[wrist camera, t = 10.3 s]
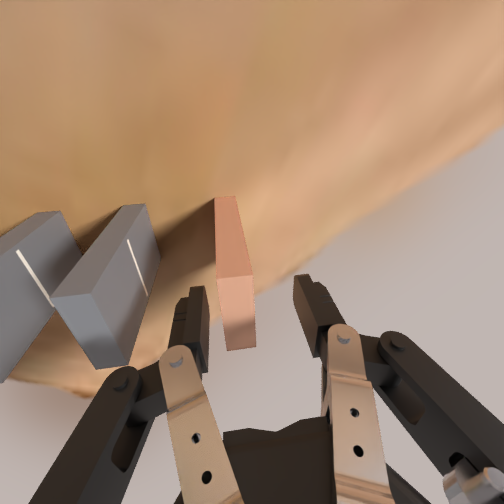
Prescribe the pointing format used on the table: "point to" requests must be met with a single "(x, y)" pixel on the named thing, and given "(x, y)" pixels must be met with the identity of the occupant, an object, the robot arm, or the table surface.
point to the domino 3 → (234, 276)
